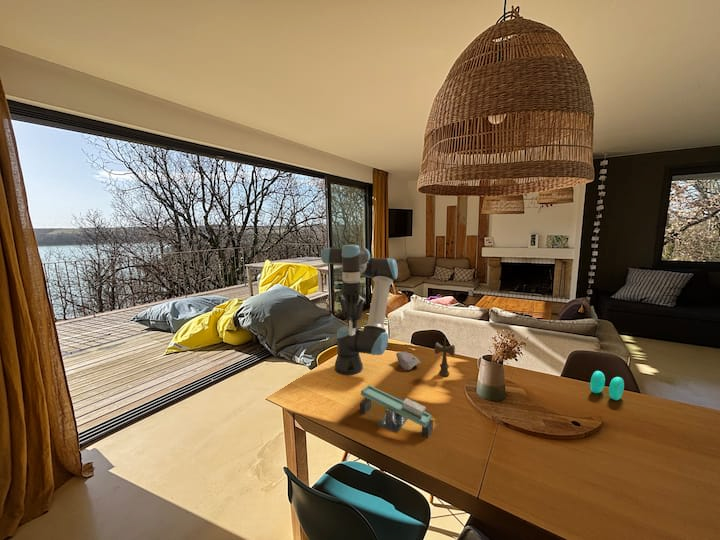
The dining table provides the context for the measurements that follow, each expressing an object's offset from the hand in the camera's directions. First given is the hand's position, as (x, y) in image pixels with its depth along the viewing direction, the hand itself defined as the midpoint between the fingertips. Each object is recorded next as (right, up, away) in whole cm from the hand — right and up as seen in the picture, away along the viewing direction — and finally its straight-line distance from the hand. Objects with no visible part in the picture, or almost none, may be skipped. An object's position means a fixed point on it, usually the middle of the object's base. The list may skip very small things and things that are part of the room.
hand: (352, 334), depth 131 cm
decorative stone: (+30, -25, +35) cm, 52 cm away
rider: (+23, -26, -17) cm, 39 cm away
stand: (+17, -31, -12) cm, 38 cm away
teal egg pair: (+113, -28, +3) cm, 116 cm away
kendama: (+47, -26, +24) cm, 59 cm away
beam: (+17, -25, -13) cm, 33 cm away
